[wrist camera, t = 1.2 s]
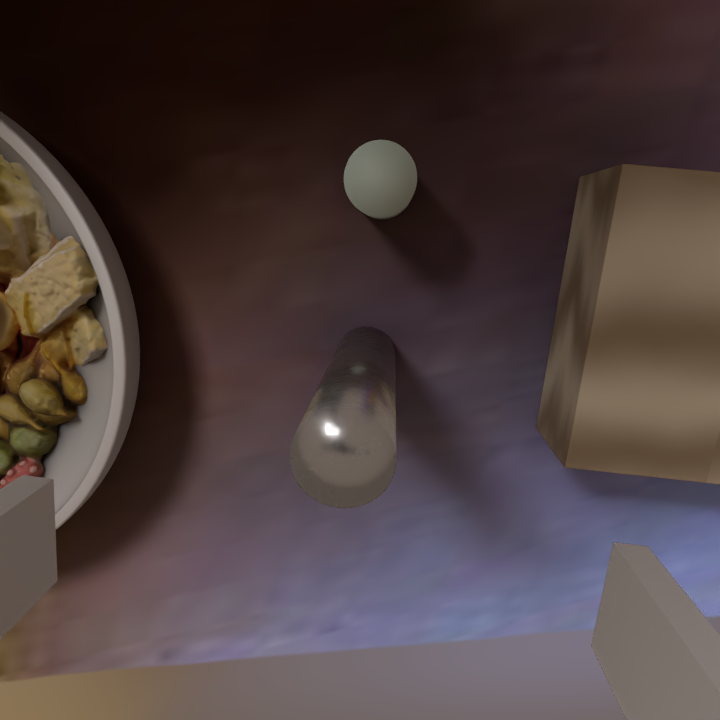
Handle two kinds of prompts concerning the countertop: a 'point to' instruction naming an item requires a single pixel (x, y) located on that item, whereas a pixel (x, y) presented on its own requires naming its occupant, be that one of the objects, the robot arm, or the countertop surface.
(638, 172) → the hole block
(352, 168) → the grey-green rounded piece
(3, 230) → the bowl
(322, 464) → the long steel pin
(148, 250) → the countertop surface
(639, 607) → the robot arm
